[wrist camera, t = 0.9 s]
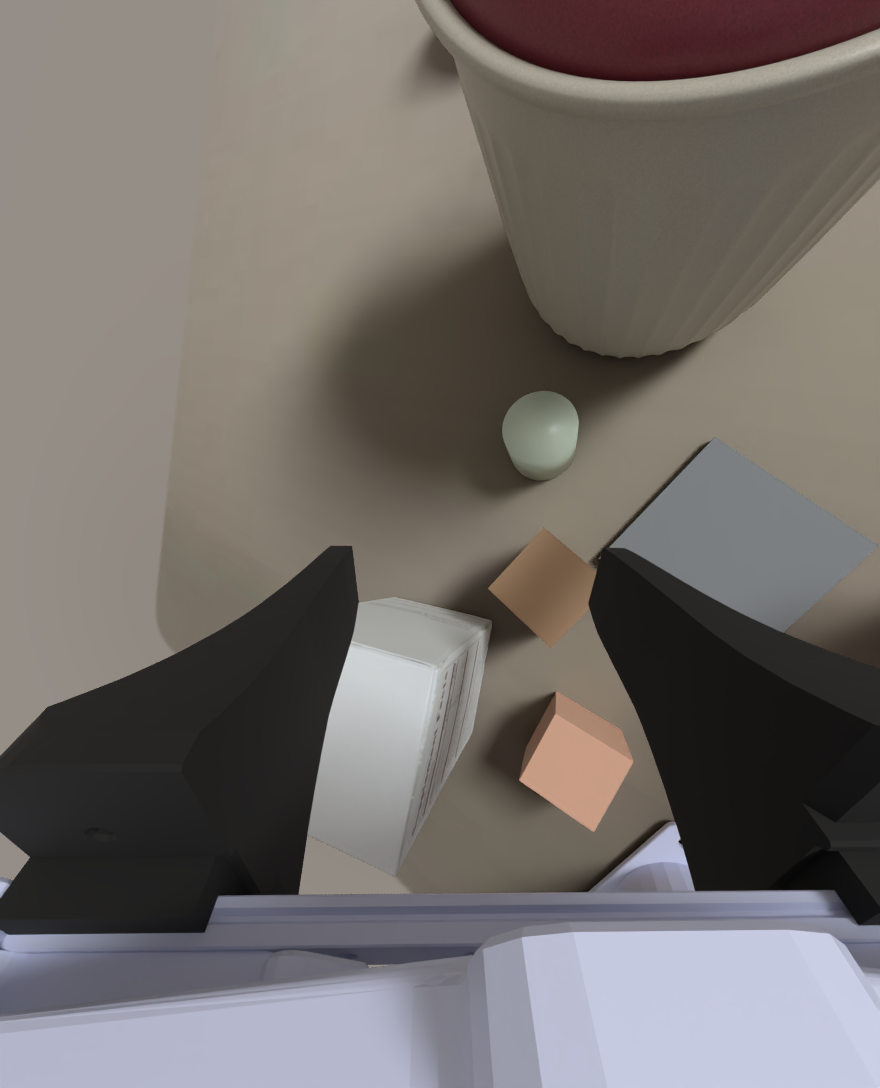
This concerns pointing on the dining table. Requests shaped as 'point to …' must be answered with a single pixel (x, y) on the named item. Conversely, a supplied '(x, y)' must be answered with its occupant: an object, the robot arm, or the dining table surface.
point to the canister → (665, 149)
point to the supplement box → (396, 726)
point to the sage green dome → (541, 434)
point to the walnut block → (546, 587)
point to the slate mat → (745, 538)
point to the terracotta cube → (576, 761)
